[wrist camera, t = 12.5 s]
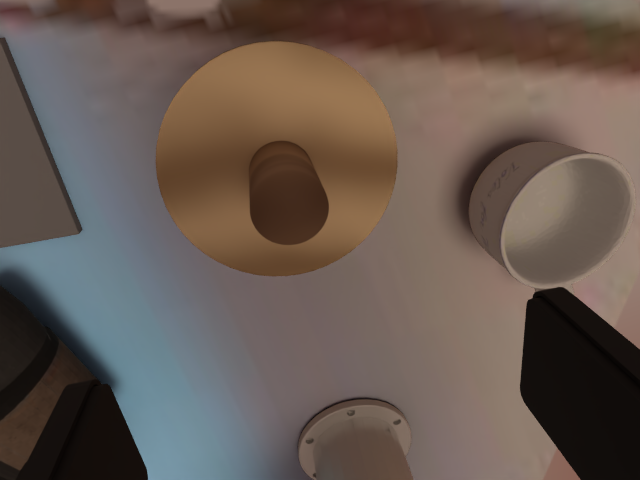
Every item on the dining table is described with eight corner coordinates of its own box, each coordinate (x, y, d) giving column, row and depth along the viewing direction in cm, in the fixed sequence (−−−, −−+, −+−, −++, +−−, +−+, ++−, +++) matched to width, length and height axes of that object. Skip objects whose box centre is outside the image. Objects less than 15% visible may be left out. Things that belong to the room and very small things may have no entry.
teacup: (460, 135, 37) (511, 163, 30) (583, 124, 39) (660, 148, 31) (448, 281, 44) (488, 332, 36) (554, 267, 45) (613, 315, 38)
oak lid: (397, 244, 27) (436, 302, 22) (195, 283, 26) (181, 354, 21) (382, 22, 22) (428, 23, 16) (126, 62, 21) (84, 79, 15)
